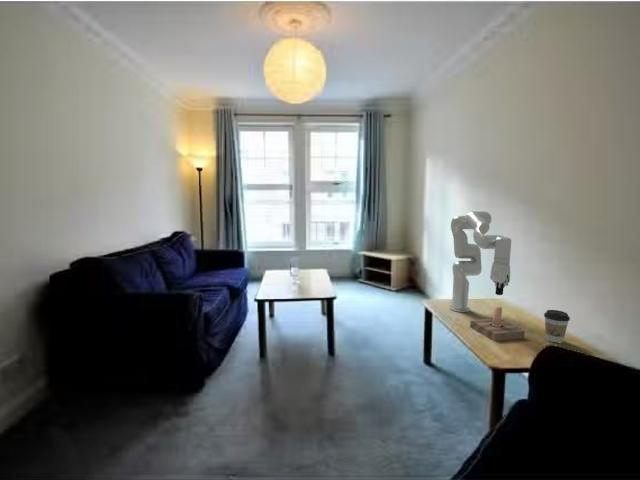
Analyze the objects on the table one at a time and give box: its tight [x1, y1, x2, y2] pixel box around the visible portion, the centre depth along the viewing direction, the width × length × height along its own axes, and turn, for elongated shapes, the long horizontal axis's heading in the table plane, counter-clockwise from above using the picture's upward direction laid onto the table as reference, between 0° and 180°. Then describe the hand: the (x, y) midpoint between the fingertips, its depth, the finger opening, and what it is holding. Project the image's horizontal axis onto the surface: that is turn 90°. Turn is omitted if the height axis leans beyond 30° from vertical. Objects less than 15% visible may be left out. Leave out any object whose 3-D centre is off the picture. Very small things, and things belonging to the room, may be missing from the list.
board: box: [469, 318, 526, 342], centre depth 206 cm, size 20×18×4 cm
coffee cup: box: [543, 309, 571, 343], centre depth 195 cm, size 11×11×15 cm
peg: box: [492, 305, 503, 327], centre depth 205 cm, size 4×4×14 cm
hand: (499, 294), depth 203 cm, fingers closed
